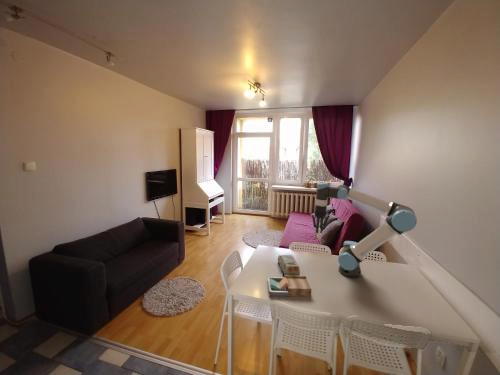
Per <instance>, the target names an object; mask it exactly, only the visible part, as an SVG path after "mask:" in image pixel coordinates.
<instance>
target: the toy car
mask: <svg viewBox="0 0 500 375" xmlns="http://www.w3.org/2000/svg"><path fill="white" fill-rule="evenodd" d="M277 265H278V266H280V269H281V270H282V273H283V274H282V275H283V277H285V275H288V276H301V275H300V273H301V270H300V266H299V263H298V261H297V260H296V259H295V257H294V255H292V254H281V255H278V256H277Z"/></svg>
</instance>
